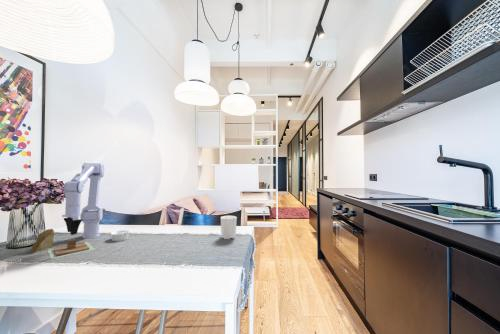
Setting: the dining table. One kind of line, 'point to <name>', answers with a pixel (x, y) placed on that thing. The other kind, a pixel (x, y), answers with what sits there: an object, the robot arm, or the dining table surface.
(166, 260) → the dining table surface
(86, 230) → the robot arm
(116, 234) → the ramekin
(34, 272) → the dining table surface
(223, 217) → the candle holder
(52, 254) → the mat
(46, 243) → the rock
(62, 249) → the lid
